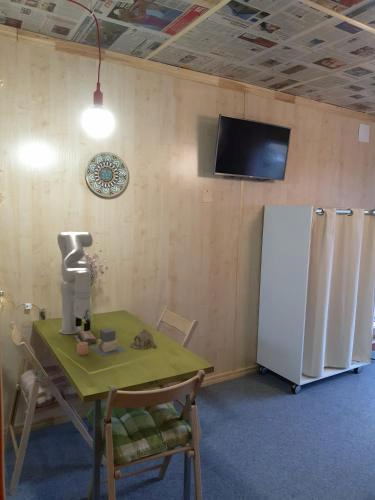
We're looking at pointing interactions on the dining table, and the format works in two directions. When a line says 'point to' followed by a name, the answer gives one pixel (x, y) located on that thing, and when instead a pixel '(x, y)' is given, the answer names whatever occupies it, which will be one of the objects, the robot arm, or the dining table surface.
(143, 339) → the stuffed bread roll
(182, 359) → the dining table surface
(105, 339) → the charcoal block
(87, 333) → the packaged product
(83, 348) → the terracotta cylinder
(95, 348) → the slate mat
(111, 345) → the birch block
